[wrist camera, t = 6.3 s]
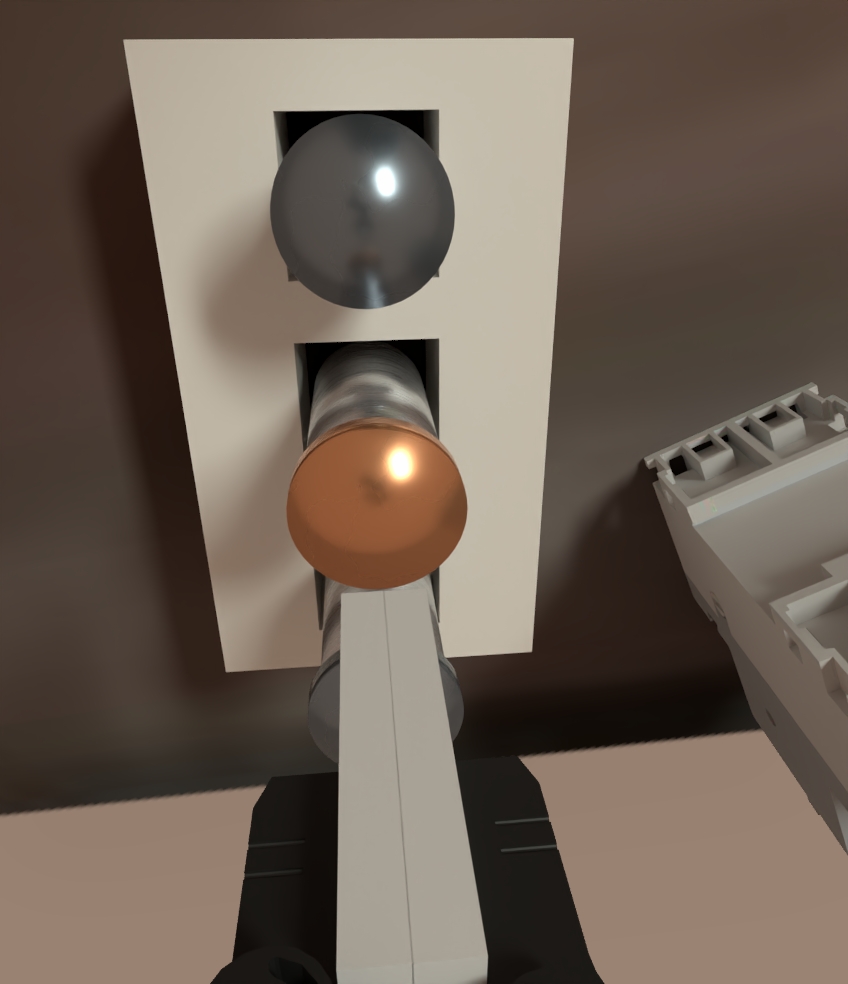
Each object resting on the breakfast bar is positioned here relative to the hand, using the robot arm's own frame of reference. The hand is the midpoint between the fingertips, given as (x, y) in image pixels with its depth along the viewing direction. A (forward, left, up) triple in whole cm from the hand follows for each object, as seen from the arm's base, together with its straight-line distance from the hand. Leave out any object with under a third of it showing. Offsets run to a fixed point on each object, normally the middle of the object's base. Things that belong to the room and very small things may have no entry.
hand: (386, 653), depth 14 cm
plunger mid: (0, 0, -14) cm, 14 cm away
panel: (0, 0, -18) cm, 18 cm away
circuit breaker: (+9, +18, -18) cm, 27 cm away
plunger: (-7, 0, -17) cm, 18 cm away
